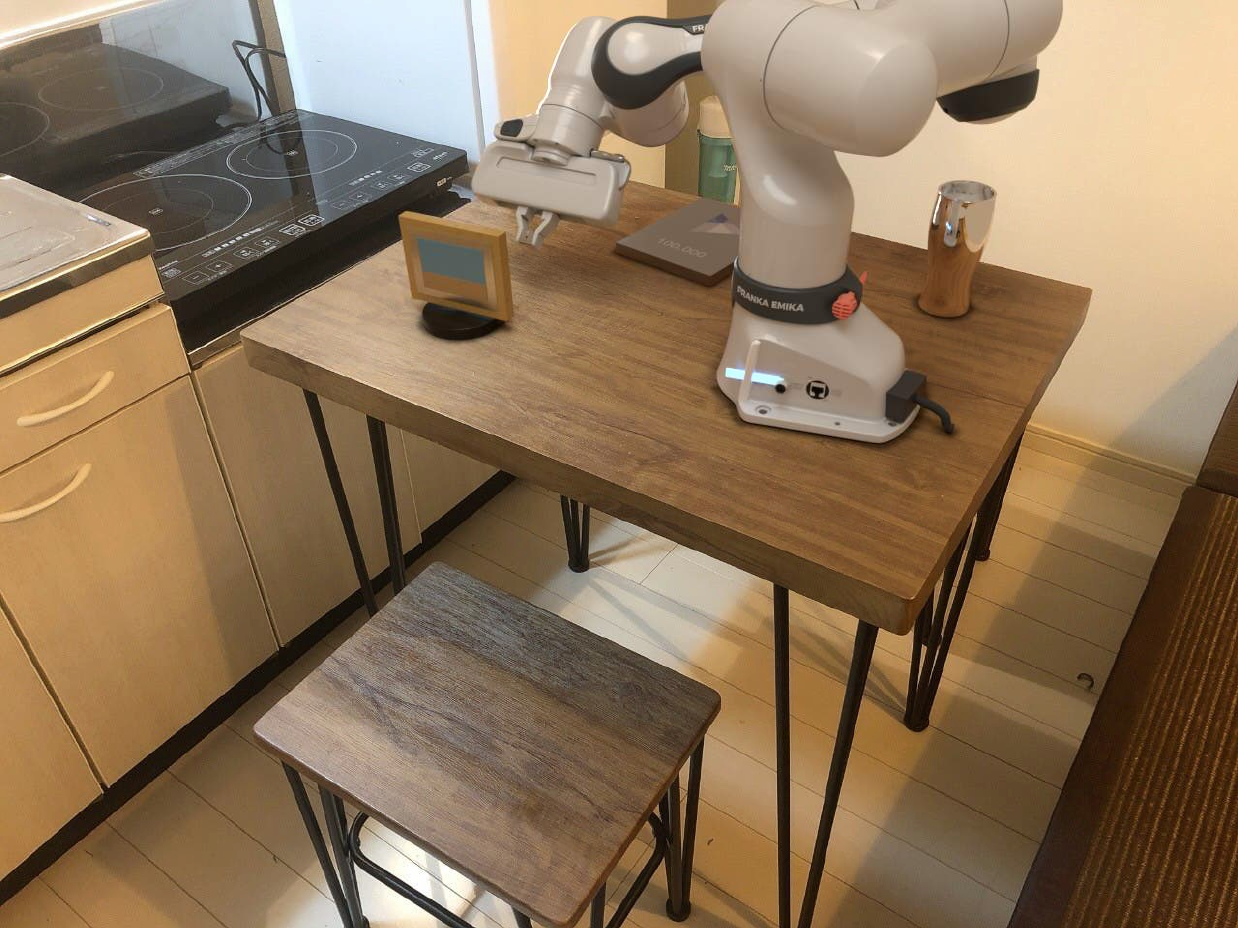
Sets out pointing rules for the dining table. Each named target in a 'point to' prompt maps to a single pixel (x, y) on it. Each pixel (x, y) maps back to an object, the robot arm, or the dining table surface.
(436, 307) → the frame stand
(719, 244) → the play button award
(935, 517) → the dining table surface
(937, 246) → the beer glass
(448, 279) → the picture frame
